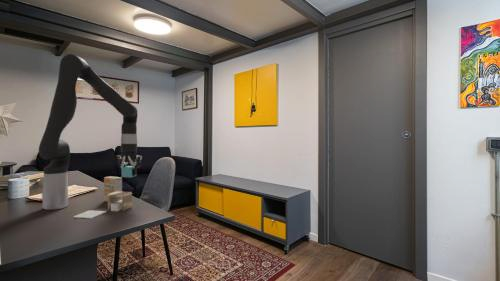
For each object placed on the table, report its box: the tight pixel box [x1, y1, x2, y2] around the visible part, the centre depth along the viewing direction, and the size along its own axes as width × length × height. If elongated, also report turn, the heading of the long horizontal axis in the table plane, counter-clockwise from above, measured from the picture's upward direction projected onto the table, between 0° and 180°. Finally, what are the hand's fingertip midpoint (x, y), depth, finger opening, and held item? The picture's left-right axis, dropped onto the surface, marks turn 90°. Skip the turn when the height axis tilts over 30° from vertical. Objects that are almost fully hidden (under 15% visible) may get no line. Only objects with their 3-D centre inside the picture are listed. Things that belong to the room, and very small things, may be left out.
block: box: [121, 165, 135, 178], centre depth 126 cm, size 5×5×5 cm
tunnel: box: [107, 191, 133, 212], centre depth 119 cm, size 8×6×8 cm
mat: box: [72, 209, 107, 220], centre depth 110 cm, size 9×9×1 cm
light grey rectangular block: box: [110, 200, 122, 212], centre depth 120 cm, size 4×9×4 cm, turn 171°
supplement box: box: [103, 175, 123, 203], centre depth 131 cm, size 8×5×13 cm, turn 68°
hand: (129, 175), depth 126 cm, fingers closed on block, 5 cm apart
